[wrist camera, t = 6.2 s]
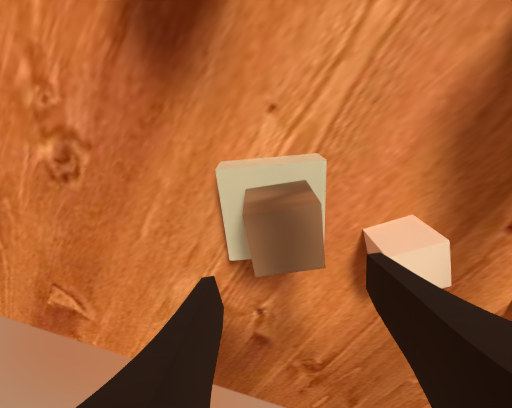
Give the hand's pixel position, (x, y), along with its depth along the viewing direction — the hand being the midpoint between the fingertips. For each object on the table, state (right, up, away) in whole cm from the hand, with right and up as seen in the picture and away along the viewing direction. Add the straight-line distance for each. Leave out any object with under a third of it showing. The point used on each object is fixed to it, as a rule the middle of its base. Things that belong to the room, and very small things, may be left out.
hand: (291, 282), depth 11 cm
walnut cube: (0, +3, +7) cm, 8 cm away
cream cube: (+11, 0, +11) cm, 16 cm away
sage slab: (0, +4, +10) cm, 11 cm away
